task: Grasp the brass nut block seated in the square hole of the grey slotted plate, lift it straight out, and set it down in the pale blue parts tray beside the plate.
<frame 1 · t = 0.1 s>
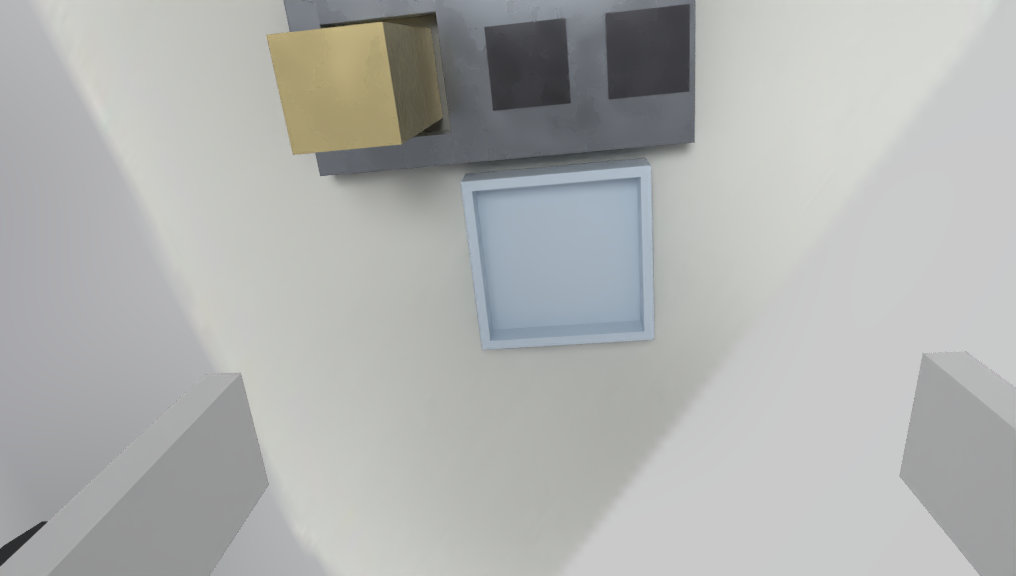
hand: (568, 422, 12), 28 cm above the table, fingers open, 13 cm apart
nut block: (395, 78, 37), resting in grey slotted plate
grey slotted plate: (495, 68, 36), on the table
parts tray: (560, 251, 40), on the table
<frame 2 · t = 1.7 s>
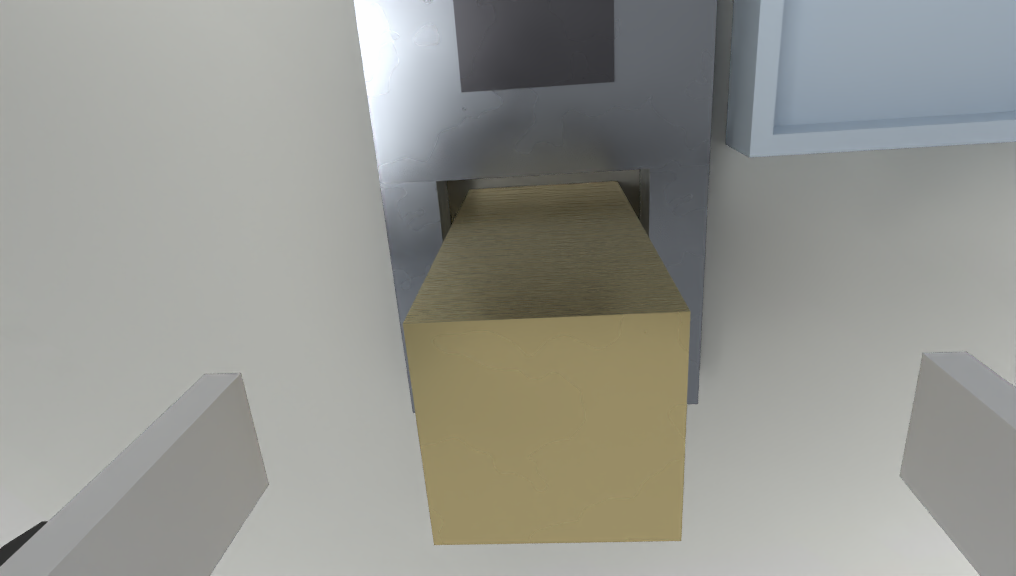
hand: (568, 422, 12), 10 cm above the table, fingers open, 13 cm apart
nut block: (546, 255, 22), resting in grey slotted plate
grey slotted plate: (537, 76, 20), on the table
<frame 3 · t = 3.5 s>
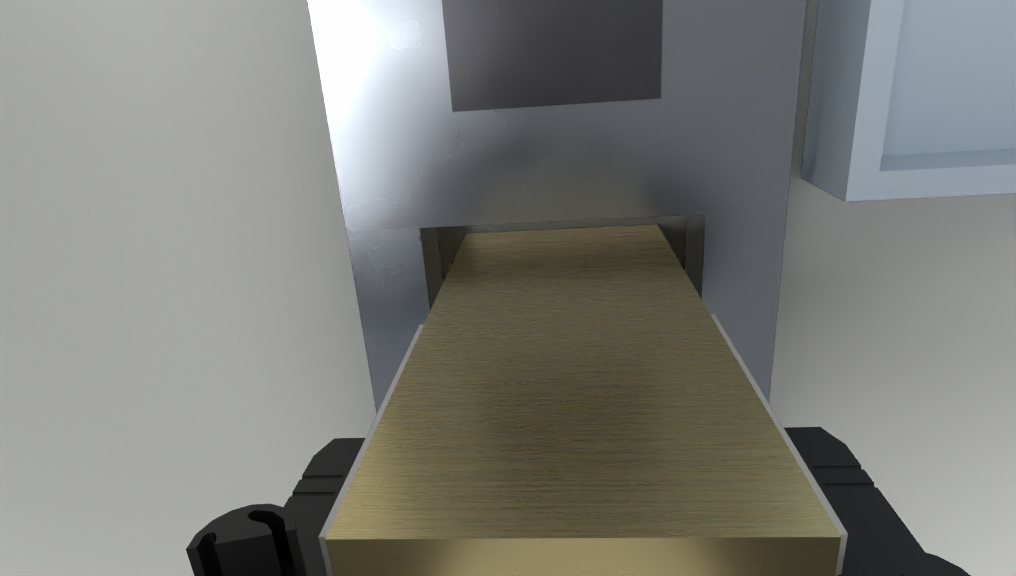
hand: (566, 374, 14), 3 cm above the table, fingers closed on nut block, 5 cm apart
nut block: (563, 316, 17), resting in grey slotted plate, touching gripper
grey slotted plate: (554, 89, 15), on the table
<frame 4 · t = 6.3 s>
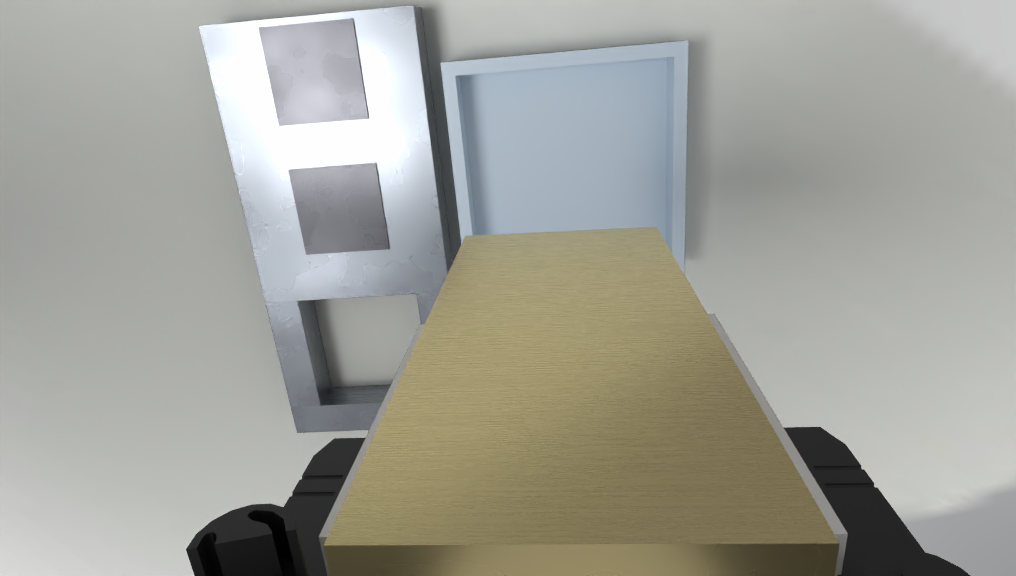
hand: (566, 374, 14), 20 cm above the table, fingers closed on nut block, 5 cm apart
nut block: (563, 318, 17), point 16 cm above the table, touching gripper
grey slotted plate: (358, 236, 34), on the table
parts tray: (566, 165, 32), on the table
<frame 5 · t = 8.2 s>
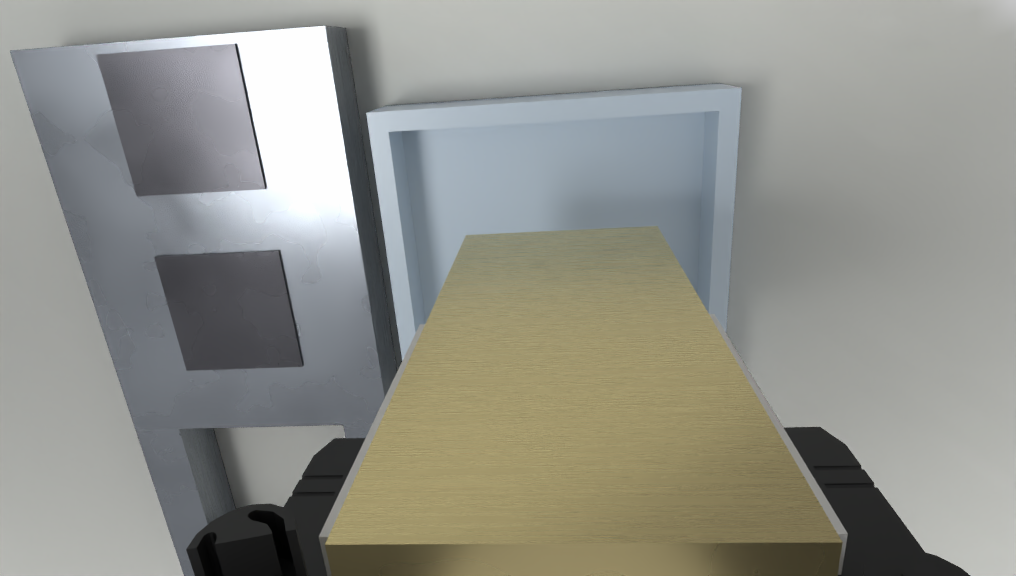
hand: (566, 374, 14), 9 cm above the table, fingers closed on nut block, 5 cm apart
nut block: (563, 317, 17), point 6 cm above the table, touching gripper
grey slotted plate: (267, 338, 24), on the table
parts tray: (556, 252, 22), on the table
when the fingers open (6 cm above the table, at t = 9.6 s): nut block drops 2 cm, resting on parts tray.
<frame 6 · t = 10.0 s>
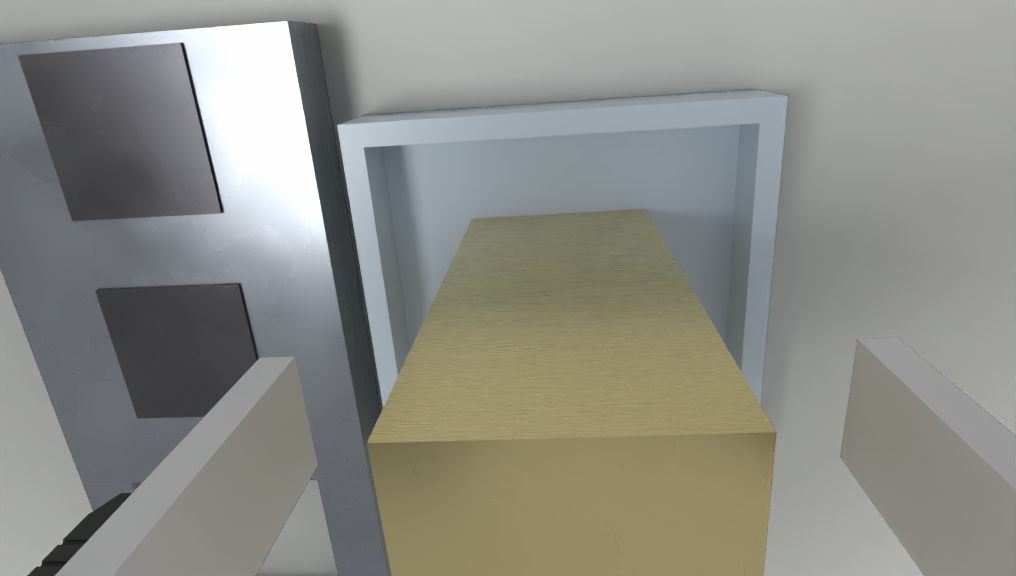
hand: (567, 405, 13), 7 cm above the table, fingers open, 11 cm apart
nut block: (561, 294, 19), point 1 cm above the table, touching parts tray
grey slotted plate: (233, 378, 22), on the table
parts tray: (562, 284, 19), on the table
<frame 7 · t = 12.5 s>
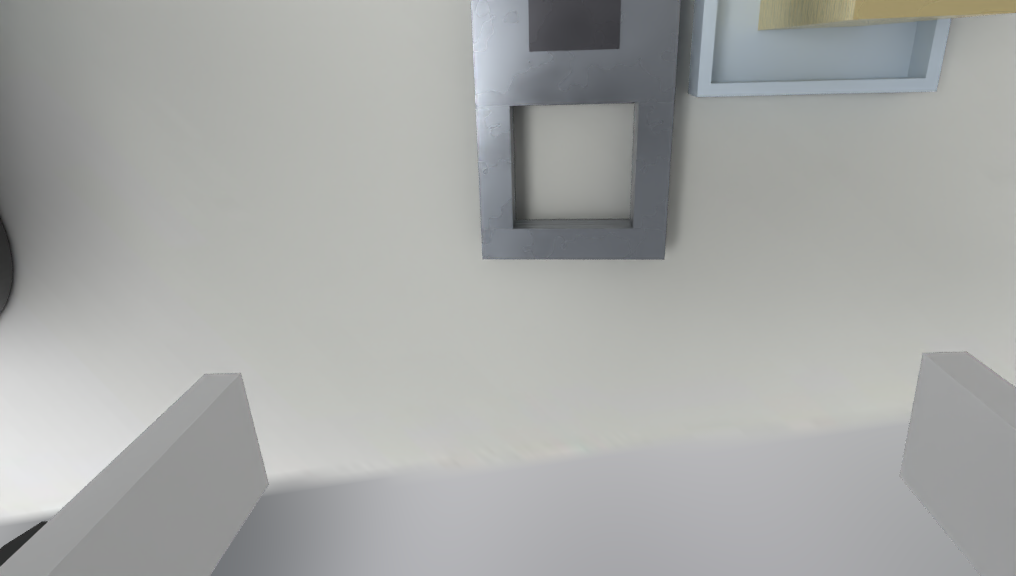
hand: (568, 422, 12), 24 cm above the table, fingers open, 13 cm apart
grey slotted plate: (573, 46, 32), on the table
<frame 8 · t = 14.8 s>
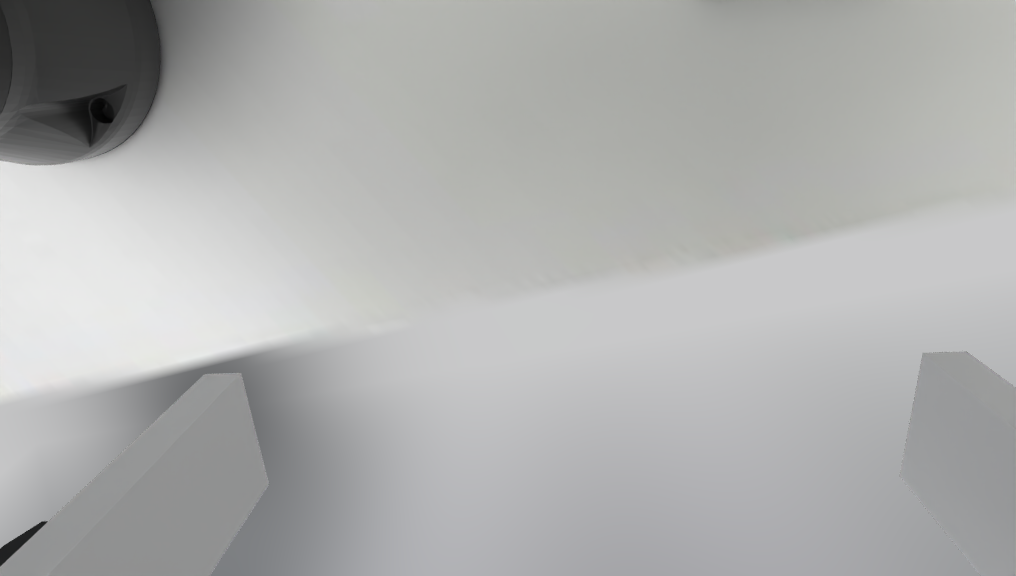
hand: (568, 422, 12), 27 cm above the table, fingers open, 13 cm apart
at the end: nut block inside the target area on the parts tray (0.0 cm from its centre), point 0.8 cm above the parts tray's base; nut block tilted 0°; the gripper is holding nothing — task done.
